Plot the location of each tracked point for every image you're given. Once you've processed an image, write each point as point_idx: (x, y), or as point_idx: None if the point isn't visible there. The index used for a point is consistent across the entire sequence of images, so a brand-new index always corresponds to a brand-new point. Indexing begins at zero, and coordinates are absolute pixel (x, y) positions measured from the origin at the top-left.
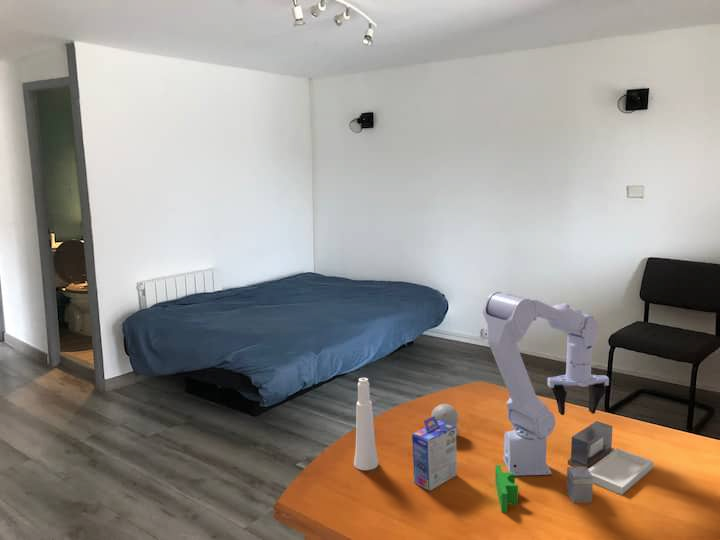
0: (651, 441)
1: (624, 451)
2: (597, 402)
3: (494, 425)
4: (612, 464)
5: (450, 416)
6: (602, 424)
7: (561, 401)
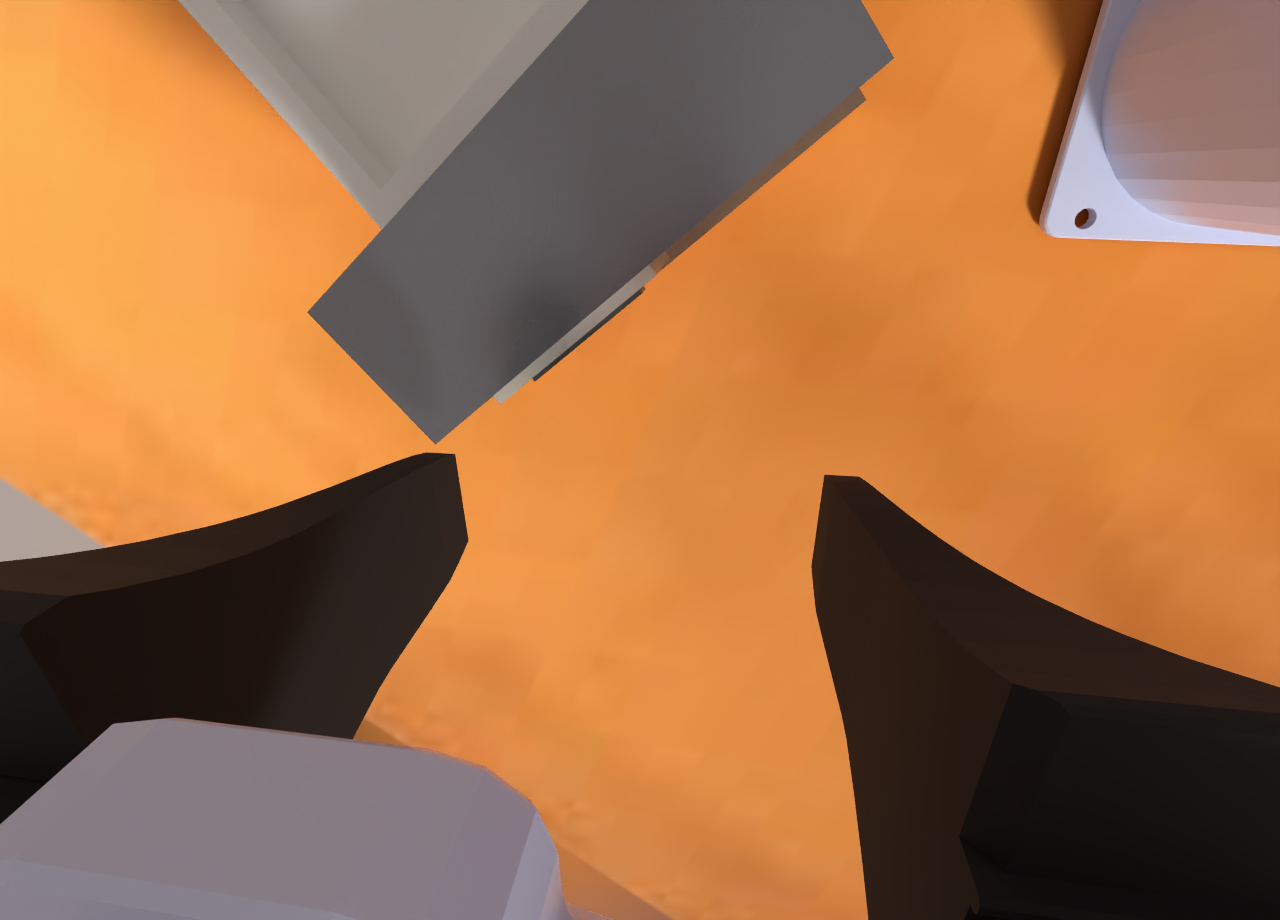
0: (153, 385)
1: (339, 165)
2: (297, 508)
3: None
4: (490, 34)
5: None
6: (400, 362)
7: (975, 579)
